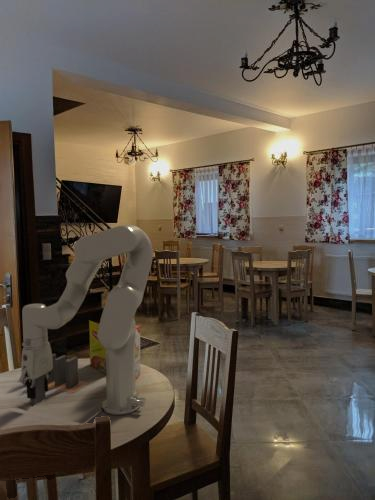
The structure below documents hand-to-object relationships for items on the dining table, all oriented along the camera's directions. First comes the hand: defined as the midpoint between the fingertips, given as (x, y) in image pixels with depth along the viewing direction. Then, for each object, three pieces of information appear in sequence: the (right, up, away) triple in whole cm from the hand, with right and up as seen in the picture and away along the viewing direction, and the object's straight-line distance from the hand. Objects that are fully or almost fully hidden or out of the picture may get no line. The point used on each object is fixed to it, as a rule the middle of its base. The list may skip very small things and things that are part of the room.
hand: (37, 393), depth 128 cm
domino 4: (+8, -2, +12) cm, 15 cm away
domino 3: (+3, -2, +14) cm, 14 cm away
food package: (+14, -2, +28) cm, 31 cm away
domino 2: (-1, -1, +16) cm, 16 cm away
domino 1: (0, -3, 0) cm, 4 cm away
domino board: (0, -2, +15) cm, 16 cm away
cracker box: (+28, -2, +16) cm, 32 cm away
